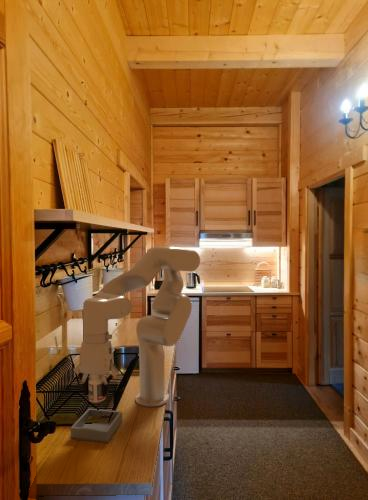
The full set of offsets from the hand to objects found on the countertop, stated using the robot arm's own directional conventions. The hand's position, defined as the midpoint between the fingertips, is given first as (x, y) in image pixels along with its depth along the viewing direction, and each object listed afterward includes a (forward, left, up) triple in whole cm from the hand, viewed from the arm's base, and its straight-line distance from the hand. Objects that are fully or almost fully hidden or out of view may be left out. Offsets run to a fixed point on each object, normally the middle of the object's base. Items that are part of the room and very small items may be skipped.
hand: (96, 393), depth 109 cm
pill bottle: (-1, 0, -2) cm, 2 cm away
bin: (0, 0, -12) cm, 12 cm away
